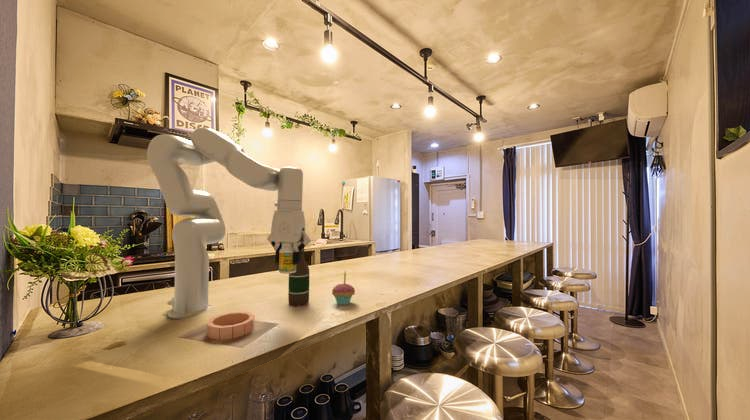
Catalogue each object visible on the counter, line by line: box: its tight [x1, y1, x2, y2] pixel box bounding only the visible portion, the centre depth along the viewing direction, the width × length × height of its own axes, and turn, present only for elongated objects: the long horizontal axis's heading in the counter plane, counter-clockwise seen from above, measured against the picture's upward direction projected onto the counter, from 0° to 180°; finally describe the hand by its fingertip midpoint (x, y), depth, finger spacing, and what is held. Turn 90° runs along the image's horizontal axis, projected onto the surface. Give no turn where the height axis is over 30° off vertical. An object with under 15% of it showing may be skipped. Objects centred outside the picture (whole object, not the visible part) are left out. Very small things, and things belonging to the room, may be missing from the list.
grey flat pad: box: [178, 320, 279, 349], centre depth 77 cm, size 20×15×1 cm
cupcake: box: [331, 270, 356, 306], centre depth 105 cm, size 9×8×12 cm
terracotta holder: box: [206, 311, 255, 340], centre depth 77 cm, size 11×11×3 cm
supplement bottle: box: [278, 242, 296, 275], centre depth 88 cm, size 5×5×10 cm
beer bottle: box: [287, 241, 310, 307], centre depth 104 cm, size 8×8×24 cm
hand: (287, 262), depth 88 cm, fingers closed on supplement bottle, 5 cm apart
